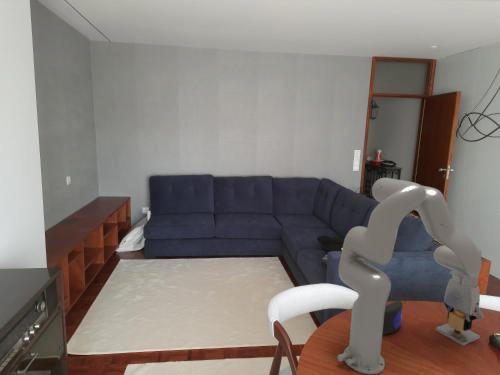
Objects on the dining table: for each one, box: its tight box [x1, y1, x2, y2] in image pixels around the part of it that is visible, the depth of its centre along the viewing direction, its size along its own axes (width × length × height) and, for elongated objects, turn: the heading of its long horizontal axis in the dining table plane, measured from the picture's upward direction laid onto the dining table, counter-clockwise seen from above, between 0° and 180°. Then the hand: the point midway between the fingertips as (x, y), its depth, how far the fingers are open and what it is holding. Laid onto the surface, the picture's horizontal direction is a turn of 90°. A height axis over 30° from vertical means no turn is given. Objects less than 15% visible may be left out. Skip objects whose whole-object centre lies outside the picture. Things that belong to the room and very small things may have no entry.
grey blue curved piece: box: [382, 300, 404, 336], centre depth 121 cm, size 16×5×9 cm, turn 123°
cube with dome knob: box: [447, 309, 466, 332], centre depth 119 cm, size 5×5×7 cm
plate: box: [435, 322, 481, 347], centre depth 120 cm, size 10×10×4 cm
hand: (458, 325), depth 120 cm, fingers closed on cube with dome knob, 5 cm apart
